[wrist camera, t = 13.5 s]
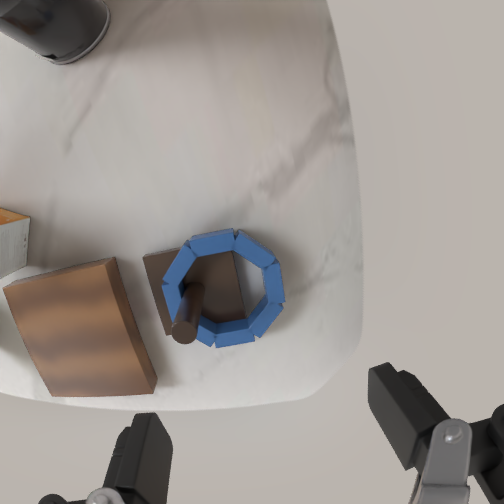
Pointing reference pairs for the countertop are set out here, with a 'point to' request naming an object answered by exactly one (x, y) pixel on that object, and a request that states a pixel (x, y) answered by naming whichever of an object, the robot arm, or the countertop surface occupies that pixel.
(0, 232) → the small box
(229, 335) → the ring
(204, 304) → the ring stand
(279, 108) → the countertop surface
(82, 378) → the platform
